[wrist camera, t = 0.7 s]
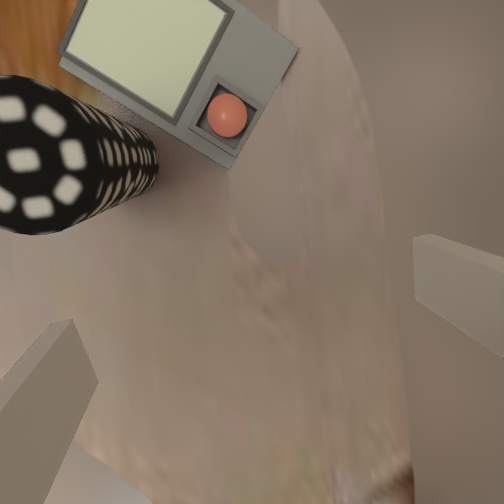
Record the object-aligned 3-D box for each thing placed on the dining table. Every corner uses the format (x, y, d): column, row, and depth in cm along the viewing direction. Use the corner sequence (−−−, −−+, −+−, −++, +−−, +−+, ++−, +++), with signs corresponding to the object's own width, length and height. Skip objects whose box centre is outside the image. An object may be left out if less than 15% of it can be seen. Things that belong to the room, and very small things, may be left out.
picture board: (57, 65, 33) (43, 55, 30) (122, -82, 31) (113, -107, 28) (229, 170, 38) (230, 170, 35) (296, 50, 36) (303, 41, 33)
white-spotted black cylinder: (151, 118, 36) (83, 67, 17) (165, 193, 38) (119, 224, 19) (73, 126, 35) (-92, 82, 16) (92, 202, 37) (-31, 244, 18)
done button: (200, 124, 35) (200, 122, 32) (219, 90, 34) (219, 85, 32) (232, 145, 35) (234, 143, 33) (251, 112, 35) (254, 108, 33)
